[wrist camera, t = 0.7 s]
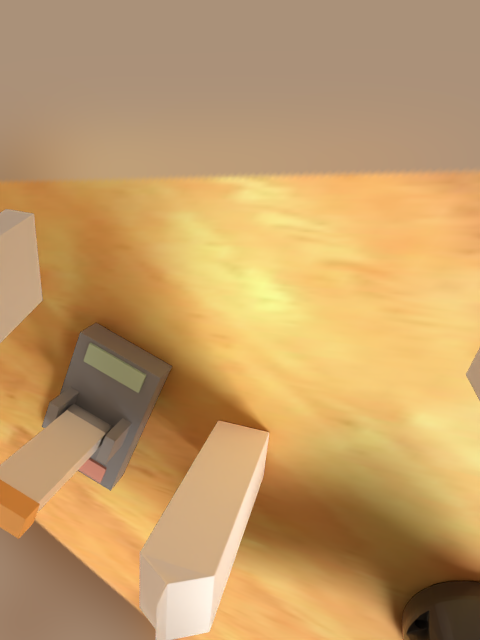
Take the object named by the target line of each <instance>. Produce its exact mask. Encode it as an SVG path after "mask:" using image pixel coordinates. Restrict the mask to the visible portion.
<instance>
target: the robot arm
mask: <svg viewBox="0 0 480 640" xmlns="http://www.w3.org/2000/svg"><path fill="white" fill-rule="evenodd" d="M42 300H43V298H42V288H41V278H40V268H39V258H38V249H37V239H36V229H35V219H34V214H33V213H27V212H21V211H16V210H10V209H6V210H4V211H2V212H0V343H1V342H2V341H3V340H4V339H5V338H6V337H7V336H8V335H9V334H10V333H11V332H12V331H13V330H14V329H15V328H16V327H17V326H18V325H19V324H20V323H21V322H22V321H23V320H24V319H25V318H26V317H27V316H28V315H29V314H30V313H31V312H32V311H33V309H34V308H35V307H36V306H37V305H38V304H39V303H40V302H41V301H42ZM466 376H467V378H468V380H469V382H470V383H471V385H472V387H473V389H474V391H475V393H476V395H477V397H478V399H479V400H480V348H479V350H478V352H477V354H476V356H475V358H474V360H473V362H472V364H471V366H470V368H469V369H468V371H467V373H466ZM402 632H403V640H480V583H479V582H471V581H453V582H445V583H440V584H436V585H433V586H430V587H428V588H426V589H424V590H422V591H420V592H419V593H417V594H416V595H415V596H414V597H413V598H412V599H411V600H410V601H409V602H408V604H407V605H406V607H405V609H404V612H403V616H402Z"/></svg>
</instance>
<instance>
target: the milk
mask: <svg viewBox="0 0 480 640" xmlns="http://www.w3.org/2000/svg"><path fill="white" fill-rule="evenodd" d="M268 439H269V432H266V431H262V430H258V429H254V428H249V427H245V426H241V425H237V424H232V423H228V422H224V421H218V422H217V423H216V425H215V427H214V428H213V430H212V432H211V433H210V435H209V437H208V438H207V440H206V442H205V443H204V445H203V447H202V449H201V450H200V452H199V454H198V455H197V457H196V459H195V460H194V462H193V464H192V465H191V467H190V469H189V470H188V472H187V474H186V475H185V477H184V479H183V481H182V482H181V484H180V486H179V487H178V489H177V491H176V492H175V494H174V496H173V497H172V499H171V501H170V502H169V504H168V506H167V508H166V509H165V511H164V513H163V514H162V516H161V518H160V519H159V521H158V523H157V524H156V526H155V528H154V529H153V531H152V533H151V534H150V536H149V538H148V540H147V541H146V543H145V545H144V546H143V548H142V550H141V551H140V609H141V610H142V612H143V613H144V614H145V616H146V617H147V618H148V620H149V621H150V622H151V624H152V625H153V627H154V628H155V629H156V640H172V639H177V638H182V637H187V636H192V635H197V634H202V633H206V632H209V631H210V629H211V626H212V623H213V620H214V617H215V615H216V612H217V609H218V606H219V603H220V600H221V597H222V594H223V591H224V589H225V586H226V583H227V580H228V577H229V574H230V571H231V568H232V566H233V563H234V560H235V557H236V554H237V551H238V548H239V545H240V543H241V540H242V537H243V534H244V531H245V528H246V525H247V522H248V519H249V517H250V514H251V511H252V508H253V505H254V502H255V499H256V496H257V494H258V491H259V488H260V485H261V482H262V479H263V476H264V470H265V462H266V454H267V446H268Z"/></svg>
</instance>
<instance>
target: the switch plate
mask: <svg viewBox="0 0 480 640" xmlns="http://www.w3.org/2000/svg"><path fill="white" fill-rule="evenodd" d="M171 368H172V366H171V365H169V364H167V363H165V362H164V361H162V360H160V359H158V358H157V357H155V356H153V355H151V354H150V353H148V352H146V351H145V350H143V349H141V348H139V347H138V346H136V345H134V344H132V343H131V342H129V341H127V340H125V339H124V338H122V337H120V336H118V335H117V334H115V333H113V332H111V331H110V330H108V329H106V328H104V327H103V326H101V325H99V324H97V323H95V324H93V325H91V326H90V327H88V328H86V329H85V330H83V331H81V332H80V335H79V338H78V341H77V344H76V347H75V350H74V353H73V356H72V359H71V362H70V365H69V368H68V371H67V374H66V377H65V380H64V383H63V387H62V390H61V393H60V395H59V396H57V397H56V398H55V399H53V400H52V401H51V402H50V403H49V406H48V409H47V412H46V415H45V418H44V422H43V425H42V427H43V428H46V427H47V426H48V425H49V424H51V423H52V422H53V421H54V420H55V419H57V418H58V417H59V416H60V415H62V414H63V413H64V412H65V411H66V410H67V409H68V408H69V407H70V406H71V405H73V404H76V405H77V406H79V407H81V408H82V409H84V410H86V411H87V412H89V413H91V414H92V415H94V416H96V417H97V418H99V419H101V420H102V421H104V422H106V423H108V424H109V425H111V426H113V428H112V429H111V430H110V431H109V433H108V434H107V435H106V436H105V438H104V440H103V443H102V445H101V446H100V447H99V448H98V449H97V450H96V452H95V453H94V454H93V455H92V456H91V457H90V458H89V459H88V460H87V461H86V462H85V463H84V464H83V465H82V466H81V467H80V468H79V469H78V471H79V472H81V473H83V474H84V475H86V476H87V477H89V478H91V479H92V480H94V481H96V482H97V483H99V484H101V485H102V486H104V487H106V488H107V489H109V490H110V491H111V489H112V488H113V487H114V486H115V484H116V483H117V482H118V481H119V479H120V478H121V477H122V476H123V474H124V472H125V469H126V467H127V465H128V463H129V461H130V458H131V456H132V454H133V452H134V450H135V447H136V445H137V443H138V441H139V438H140V436H141V434H142V432H143V430H144V427H145V425H146V423H147V421H148V419H149V416H150V414H151V412H152V410H153V407H154V405H155V403H156V401H157V399H158V396H159V394H160V392H161V390H162V388H163V385H164V383H165V381H166V379H167V376H168V374H169V372H170V370H171Z"/></svg>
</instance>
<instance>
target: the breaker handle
mask: <svg viewBox="0 0 480 640" xmlns="http://www.w3.org/2000/svg"><path fill="white" fill-rule="evenodd" d="M112 428H113V426H111V425H109V424H108V423H106V422H104V421H102V420H101V419H99V418H97V417H96V416H94V415H92V414H91V413H89V412H87V411H86V410H84V409H82V408H81V407H79V406H77V405H76V404H73V405H71V406H70V407H69V408H68V409H67V410H66V411H65V412H64V413H63V414H62V415H60V416H59V417H58V418H57V419H55V420H54V421H53V422H52V423H51V424H49V425H48V426H47V427H46V428H44V429H43V430H42V431H41V432H40V433H38V434H37V435H36V436H35V437H34V438H32V439H31V440H30V441H29V442H27V443H26V444H25V445H24V446H23V447H21V448H20V449H19V450H18V451H16V452H15V453H14V454H13V455H12V456H10V457H9V458H8V459H7V460H6V461H4V462H3V463H2V464H1V465H0V527H1V528H2V529H4V530H5V531H7V532H9V533H10V534H12V535H13V536H15V537H17V538H18V539H19V538H20V537H21V536H22V535H23V534H24V533H25V532H26V530H27V529H28V528H29V527H30V526H31V525H32V524H33V523H34V520H35V517H36V514H37V513H38V512H39V511H40V509H41V508H42V507H43V506H44V505H45V504H46V503H47V502H48V501H49V500H50V499H51V498H52V497H53V496H54V495H55V494H56V493H57V492H58V491H59V489H60V488H61V487H62V486H63V485H64V484H65V483H66V482H67V481H68V480H69V479H70V478H71V477H72V476H73V475H74V474H75V473H76V472H77V470H78V469H79V468H80V467H81V466H82V465H83V464H84V463H85V462H86V461H87V460H88V459H89V458H90V457H91V456H92V455H93V454H94V453H95V452H96V450H97V449H98V448H99V447H100V446H101V445H102V443H103V440H104V438H105V436H106V435H107V434H108V433H109V431H110V430H111V429H112Z"/></svg>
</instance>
